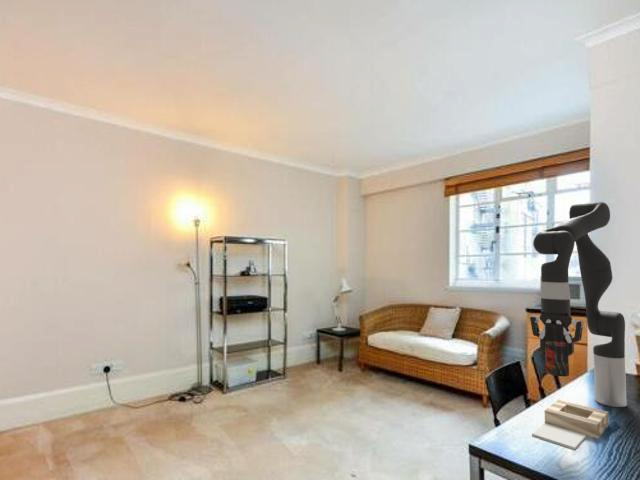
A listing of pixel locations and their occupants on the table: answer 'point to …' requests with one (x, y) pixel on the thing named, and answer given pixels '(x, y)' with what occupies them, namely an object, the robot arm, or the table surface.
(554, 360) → the deodorant
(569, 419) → the holder
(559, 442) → the mat
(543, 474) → the table surface
